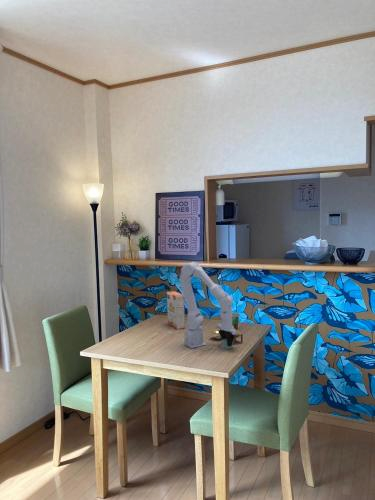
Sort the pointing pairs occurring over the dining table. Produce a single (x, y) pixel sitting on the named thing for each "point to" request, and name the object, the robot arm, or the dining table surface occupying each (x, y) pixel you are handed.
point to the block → (224, 344)
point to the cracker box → (175, 310)
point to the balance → (217, 333)
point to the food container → (234, 320)
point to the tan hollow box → (238, 335)
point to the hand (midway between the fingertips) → (227, 344)
